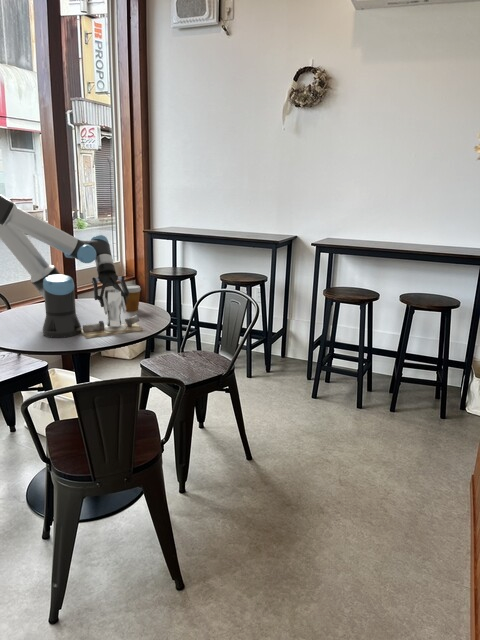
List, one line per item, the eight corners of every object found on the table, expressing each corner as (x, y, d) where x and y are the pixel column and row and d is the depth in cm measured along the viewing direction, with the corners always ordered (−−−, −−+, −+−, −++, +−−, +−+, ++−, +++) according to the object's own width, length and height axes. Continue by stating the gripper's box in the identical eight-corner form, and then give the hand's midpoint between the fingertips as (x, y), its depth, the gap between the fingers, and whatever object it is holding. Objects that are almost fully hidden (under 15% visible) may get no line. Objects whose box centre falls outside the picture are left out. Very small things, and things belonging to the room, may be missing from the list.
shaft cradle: (86, 338, 194) (85, 324, 193) (79, 331, 202) (78, 318, 201) (143, 330, 207) (143, 317, 205) (135, 324, 215) (134, 312, 213)
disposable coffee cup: (143, 308, 242) (143, 285, 239) (138, 313, 233) (137, 289, 230) (125, 307, 243) (124, 284, 240) (119, 312, 234) (118, 288, 231)
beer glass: (126, 324, 206) (125, 290, 202) (114, 328, 200) (113, 293, 196) (114, 322, 209) (113, 288, 205) (102, 325, 203) (100, 290, 199)
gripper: (126, 270, 217) (137, 314, 207) (81, 273, 208) (90, 318, 198) (129, 260, 211) (140, 305, 201) (82, 263, 202) (92, 309, 192)
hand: (115, 311), depth 200 cm, fingers open, 7 cm apart
